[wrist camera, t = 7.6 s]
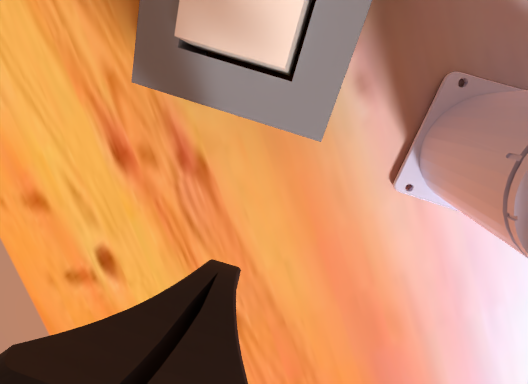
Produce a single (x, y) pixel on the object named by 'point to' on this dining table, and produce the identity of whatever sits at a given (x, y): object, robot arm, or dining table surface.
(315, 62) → the key panel
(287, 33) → the cream key
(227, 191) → the dining table surface
